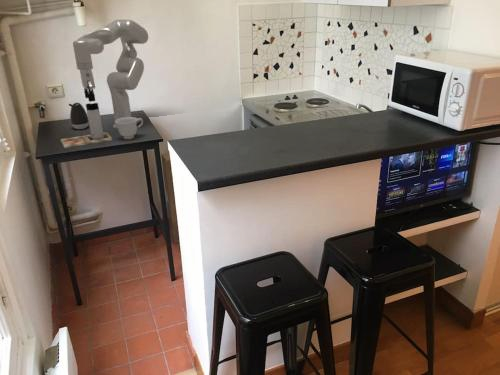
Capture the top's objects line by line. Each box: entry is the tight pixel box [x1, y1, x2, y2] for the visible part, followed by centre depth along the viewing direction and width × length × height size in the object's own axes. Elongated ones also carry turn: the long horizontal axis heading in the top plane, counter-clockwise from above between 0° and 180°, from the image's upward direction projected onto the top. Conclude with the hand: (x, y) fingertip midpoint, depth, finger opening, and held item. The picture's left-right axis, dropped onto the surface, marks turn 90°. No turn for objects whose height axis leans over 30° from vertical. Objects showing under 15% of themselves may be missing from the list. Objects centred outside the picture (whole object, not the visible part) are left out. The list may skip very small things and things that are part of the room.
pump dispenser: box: [68, 102, 89, 130], centre depth 246 cm, size 10×10×15 cm
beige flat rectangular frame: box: [60, 131, 113, 149], centre depth 227 cm, size 24×12×1 cm, turn 119°
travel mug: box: [85, 102, 105, 141], centre depth 226 cm, size 6×7×20 cm
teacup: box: [114, 116, 144, 140], centre depth 229 cm, size 12×15×10 cm
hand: (90, 99), depth 220 cm, fingers open, 9 cm apart
